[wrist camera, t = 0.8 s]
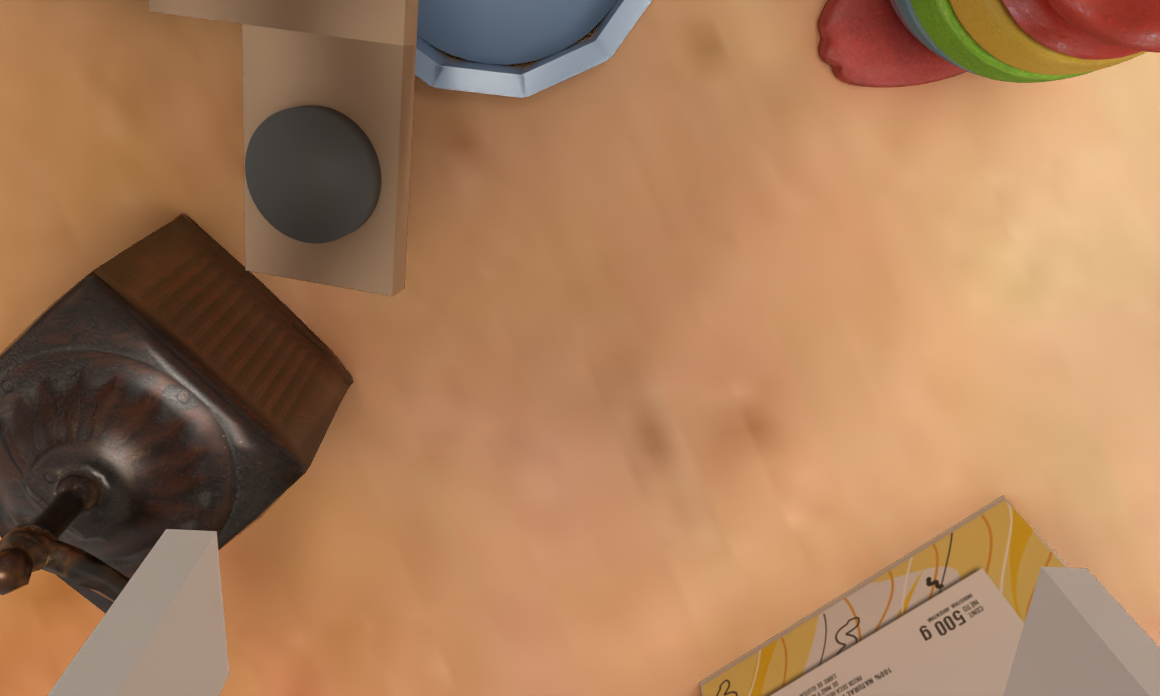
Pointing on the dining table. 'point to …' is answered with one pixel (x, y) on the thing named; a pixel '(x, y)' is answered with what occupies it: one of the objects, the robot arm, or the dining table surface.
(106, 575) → the brown manual coffee grinder
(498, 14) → the bowl
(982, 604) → the pasta box
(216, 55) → the dining table surface
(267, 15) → the lever
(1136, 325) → the dining table surface
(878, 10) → the stacking bear
